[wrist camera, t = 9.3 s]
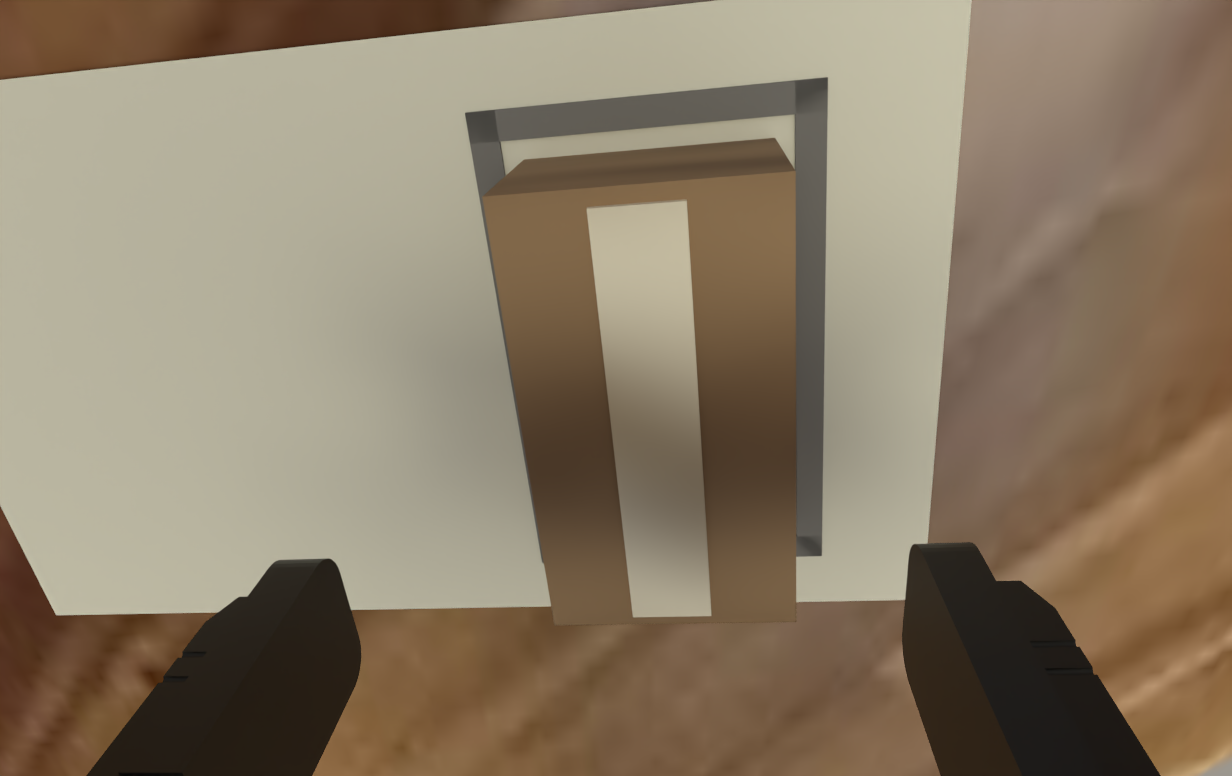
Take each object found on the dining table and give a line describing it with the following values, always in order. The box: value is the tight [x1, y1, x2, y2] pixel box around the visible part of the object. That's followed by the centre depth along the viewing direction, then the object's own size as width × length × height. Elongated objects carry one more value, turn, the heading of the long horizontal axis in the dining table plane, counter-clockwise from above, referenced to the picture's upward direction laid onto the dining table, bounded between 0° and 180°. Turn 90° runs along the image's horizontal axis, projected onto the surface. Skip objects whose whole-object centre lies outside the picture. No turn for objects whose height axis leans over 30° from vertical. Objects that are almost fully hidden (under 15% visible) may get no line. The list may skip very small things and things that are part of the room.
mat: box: [0, 0, 972, 615], centre depth 19 cm, size 24×14×1 cm, turn 96°
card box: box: [482, 138, 796, 625], centre depth 16 cm, size 9×5×4 cm, turn 6°
